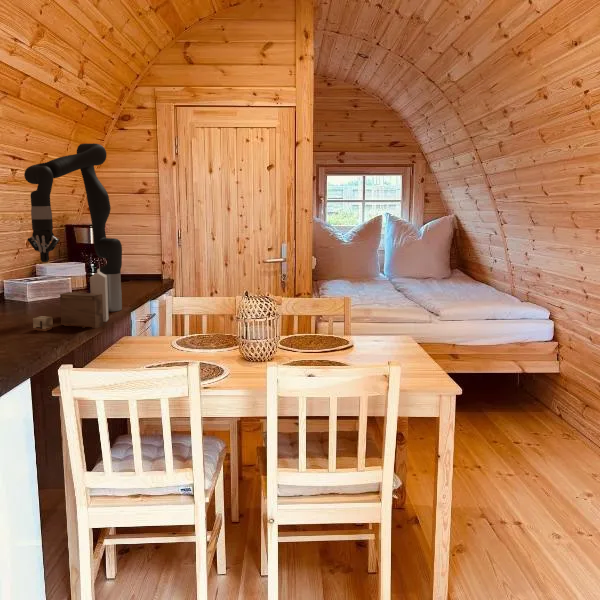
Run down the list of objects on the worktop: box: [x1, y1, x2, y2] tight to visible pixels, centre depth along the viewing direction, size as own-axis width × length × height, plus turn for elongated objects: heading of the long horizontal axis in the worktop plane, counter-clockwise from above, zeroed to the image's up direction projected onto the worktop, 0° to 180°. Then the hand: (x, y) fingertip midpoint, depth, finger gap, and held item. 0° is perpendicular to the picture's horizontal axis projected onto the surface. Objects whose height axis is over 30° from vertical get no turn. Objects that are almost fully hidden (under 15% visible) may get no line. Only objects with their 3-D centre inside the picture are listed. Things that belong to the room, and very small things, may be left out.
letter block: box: [32, 315, 54, 329], centre depth 229 cm, size 5×5×5 cm
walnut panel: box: [59, 291, 104, 329], centre depth 239 cm, size 6×15×13 cm, turn 79°
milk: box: [89, 267, 109, 323], centre depth 248 cm, size 6×6×22 cm
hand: (44, 261), depth 236 cm, fingers closed
